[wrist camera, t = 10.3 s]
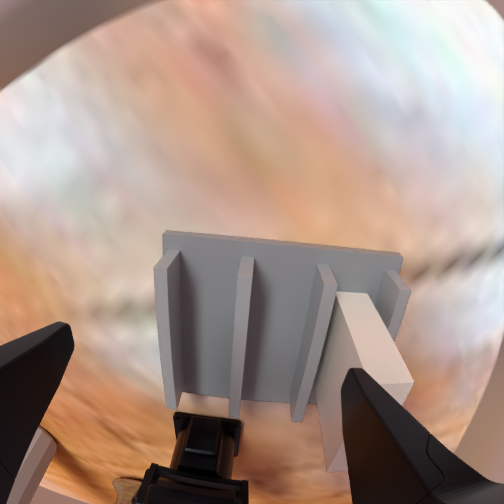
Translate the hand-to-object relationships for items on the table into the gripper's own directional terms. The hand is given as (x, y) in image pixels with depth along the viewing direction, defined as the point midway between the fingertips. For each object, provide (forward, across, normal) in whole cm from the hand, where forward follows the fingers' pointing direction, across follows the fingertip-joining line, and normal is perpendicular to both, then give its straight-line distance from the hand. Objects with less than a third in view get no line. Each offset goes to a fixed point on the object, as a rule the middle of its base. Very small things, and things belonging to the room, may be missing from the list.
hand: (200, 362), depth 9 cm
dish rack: (+12, -4, +7) cm, 15 cm away
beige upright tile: (+12, -8, +7) cm, 16 cm away
